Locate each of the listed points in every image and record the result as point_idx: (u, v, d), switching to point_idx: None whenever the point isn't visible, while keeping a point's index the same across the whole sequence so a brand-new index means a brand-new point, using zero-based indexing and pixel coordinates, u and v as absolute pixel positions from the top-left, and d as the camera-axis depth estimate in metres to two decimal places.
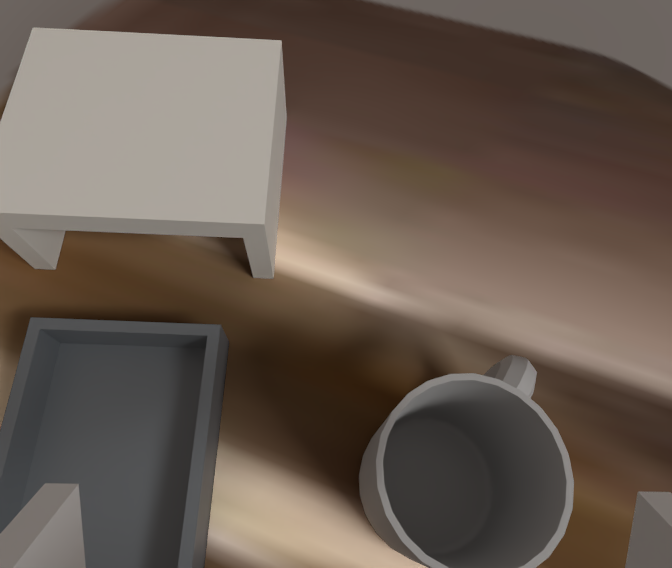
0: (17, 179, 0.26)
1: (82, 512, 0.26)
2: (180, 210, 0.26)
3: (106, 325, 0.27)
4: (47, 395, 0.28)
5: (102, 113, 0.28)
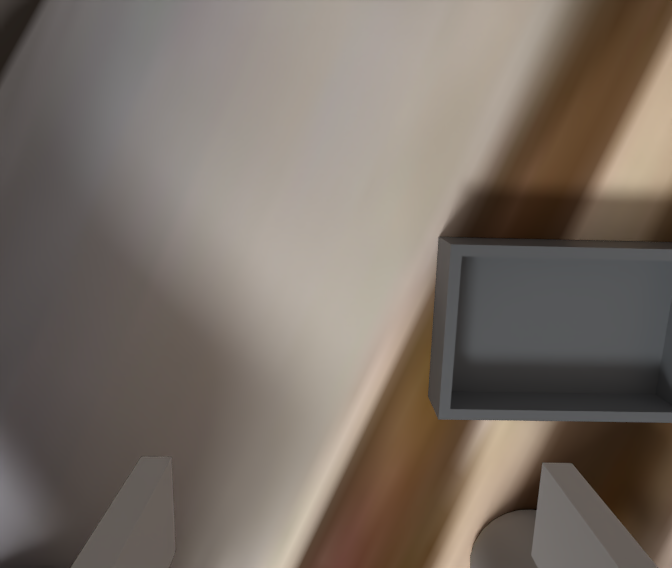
0: None
1: (524, 302, 0.30)
2: None
3: None
4: None
5: None
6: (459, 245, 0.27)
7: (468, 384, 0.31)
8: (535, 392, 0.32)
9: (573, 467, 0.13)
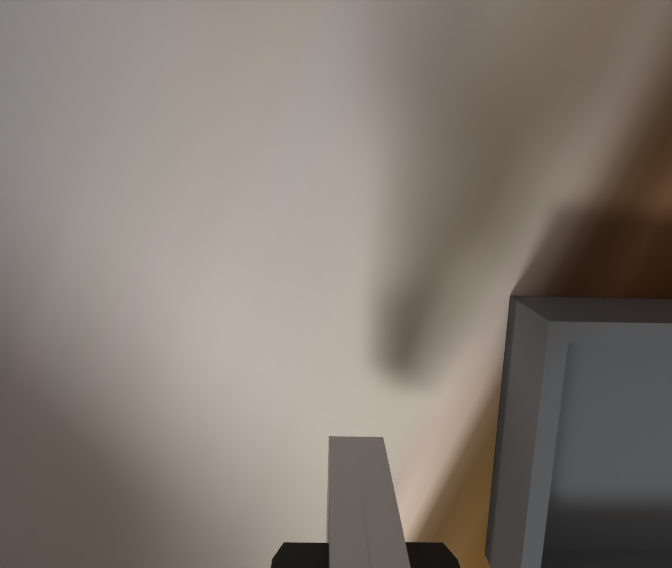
0: None
1: (655, 407, 0.18)
2: None
3: None
4: None
5: None
6: (564, 323, 0.14)
7: (555, 540, 0.19)
8: (665, 549, 0.19)
9: (382, 440, 0.14)
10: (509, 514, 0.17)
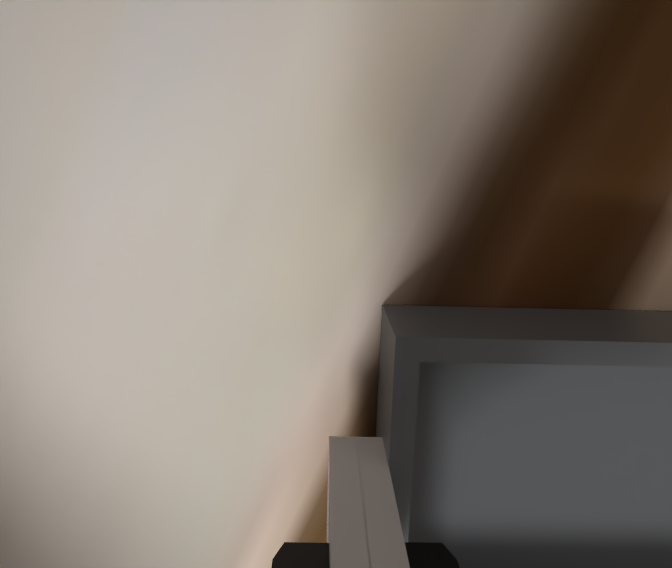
0: None
1: (548, 431, 0.16)
2: None
3: None
4: None
5: None
6: (414, 339, 0.12)
7: None
8: None
9: (382, 440, 0.14)
10: None
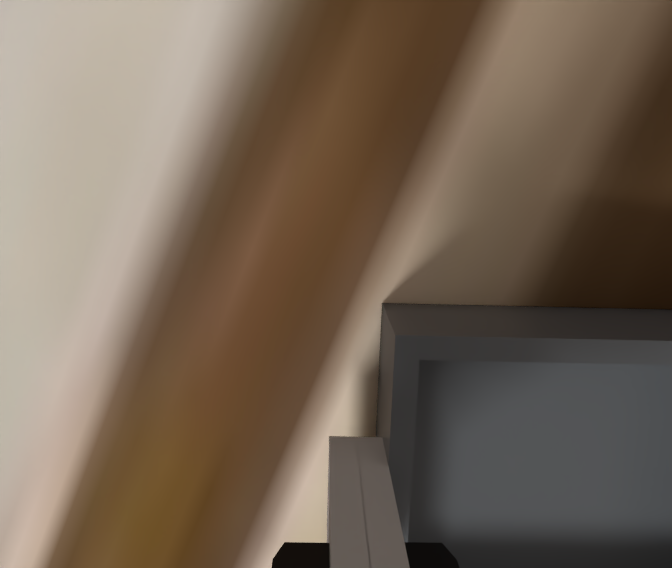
0: None
1: (548, 429, 0.16)
2: None
3: None
4: None
5: None
6: (413, 337, 0.12)
7: None
8: None
9: (382, 440, 0.14)
10: None
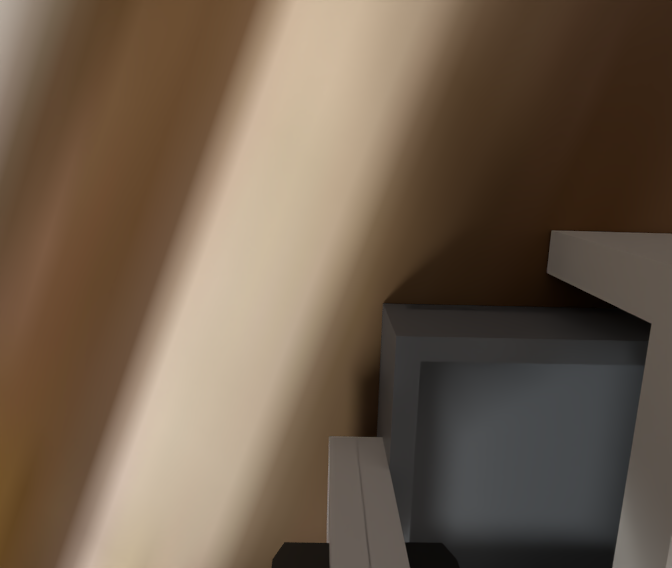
0: None
1: (551, 431, 0.15)
2: None
3: None
4: None
5: None
6: (415, 338, 0.12)
7: None
8: None
9: (382, 440, 0.14)
10: None
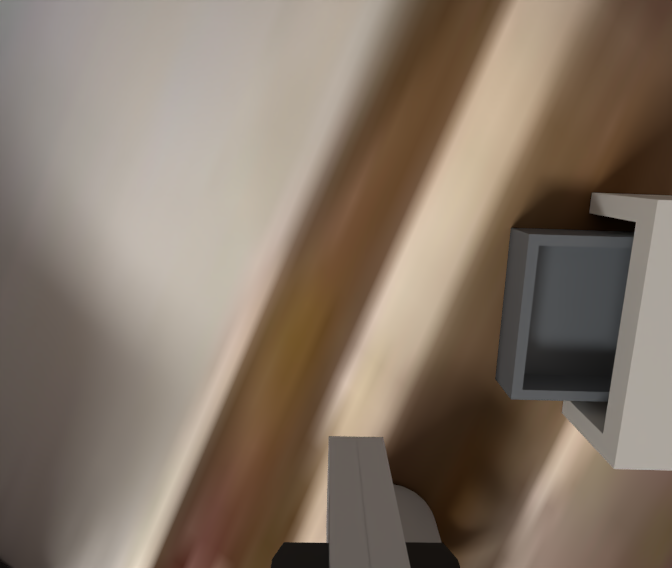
0: None
1: (590, 290, 0.32)
2: (636, 396, 0.27)
3: None
4: None
5: None
6: (537, 235, 0.29)
7: (535, 367, 0.33)
8: (598, 375, 0.33)
9: (382, 440, 0.14)
10: (509, 345, 0.32)
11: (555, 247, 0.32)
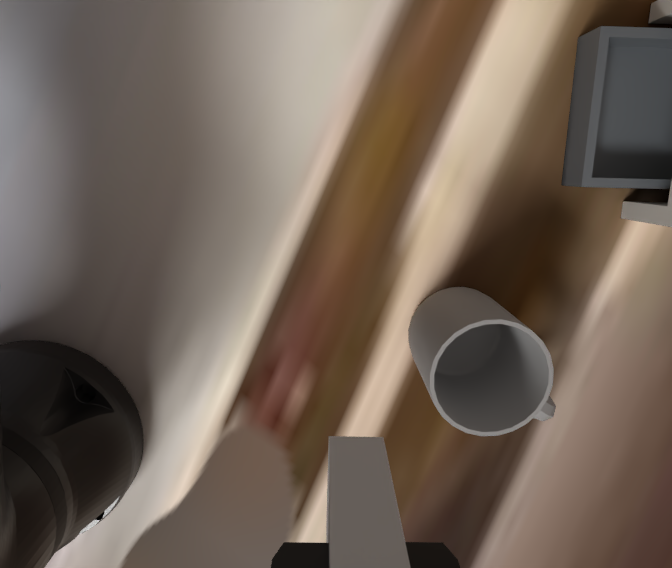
0: None
1: (649, 95, 0.36)
2: None
3: None
4: None
5: None
6: (608, 26, 0.32)
7: (598, 170, 0.37)
8: (655, 178, 0.37)
9: (382, 440, 0.14)
10: (578, 141, 0.35)
11: (618, 53, 0.35)
